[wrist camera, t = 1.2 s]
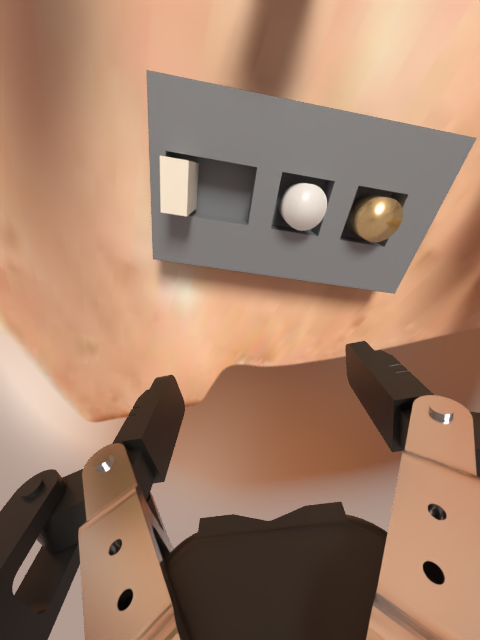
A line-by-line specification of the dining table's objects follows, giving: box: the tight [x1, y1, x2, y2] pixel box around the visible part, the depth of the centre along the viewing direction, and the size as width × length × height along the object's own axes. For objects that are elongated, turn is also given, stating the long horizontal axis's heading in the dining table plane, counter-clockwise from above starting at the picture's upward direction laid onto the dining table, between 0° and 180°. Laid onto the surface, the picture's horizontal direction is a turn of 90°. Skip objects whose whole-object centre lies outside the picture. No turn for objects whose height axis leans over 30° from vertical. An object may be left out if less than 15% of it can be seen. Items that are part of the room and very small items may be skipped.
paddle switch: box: [160, 156, 199, 216], centre depth 24 cm, size 2×4×6 cm, turn 171°
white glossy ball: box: [279, 183, 327, 231], centre depth 25 cm, size 4×4×4 cm
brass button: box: [346, 195, 403, 242], centre depth 26 cm, size 4×4×4 cm
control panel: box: [147, 70, 476, 294], centre depth 27 cm, size 30×16×4 cm, turn 81°
